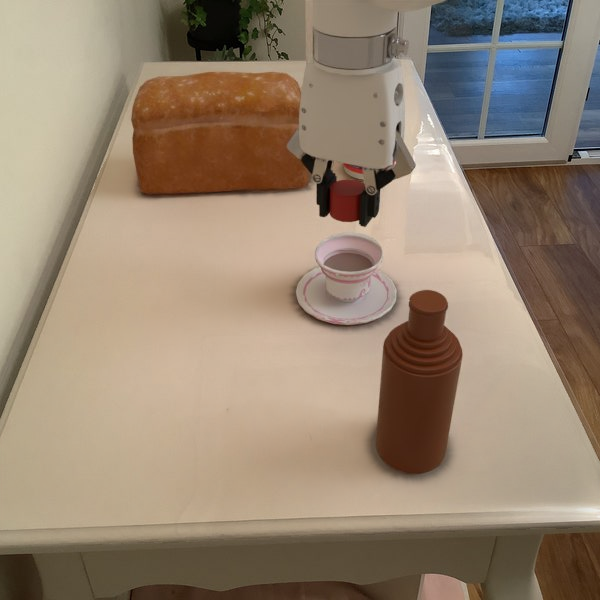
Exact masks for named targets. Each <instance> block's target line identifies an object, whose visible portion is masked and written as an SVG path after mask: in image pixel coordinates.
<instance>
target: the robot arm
mask: <svg viewBox="0 0 600 600" xmlns="http://www.w3.org/2000/svg"><path fill="white" fill-rule="evenodd" d="M446 1H447V0H313V54H311V56H309V57H308V59H307V63H306V62H305V68H304V72H303V77H302V85H301V90H300V91H301V100H300V112H299V128H298V129H297V130H296V132H295V133H294V135H293V136H292V138H291V139H290V141H289V142H288V143H287V149H288V150H289V151H290V152H291V153H293V154H294V155H295V156H296V157H297V158H298V159H299V158H300V159H301V162H302V163H303V165H304V166H305V167H306V168H307V169H308V171H309V174H310V175H311V180H312V181H313V182H314V183H315V184H316V191H315V192H316V201H315V202H316V205H317V206H318V216H319V217H320V218H326V217H328V216H329V215H330V186H331V185H332V184H333V183H334V182H336V181H338V176H337V175H336V172H334V171H333V168H334V164H335V162H337V163H342V164H343V163H346V164H351V165H356V166H361V167H362V169H363V176H364V180H363V181H364V182H363V183H364V184H365V189H364V191H363V192H362V193H361V195H360V212H359V220H358V224H359V226H360V227H363V228H366V227H367V226H368V225H369V224H370V222H371V221H372V219H373V218H376V217H378V215H379V214H378V213H379V211H380V201H381V190H382V189H383V188H384V187H386V186H388V185H389V184H390V183H392V182H393V181H394V180H398V179H400V178H404V177H406V176H409V175H410V174H411V173H412V172H413V171H414V170H415V169H416V165H417V164H416V162H415V160H414V157H413V156H412V154H411V152H410V150H409V149H408V147H407V145H406V143H405V125H406V123H405V122H406V121H405V119H406V117H405V115H406V111H405V110H406V109H405V108H406V107H405V104H406V103H405V84H404V82H405V81H404V73H403V72H404V71H403V65H402V61H401V60H400V59H399V58H394V57H398V56H406V55H407V54H408V52H409V48H410V42H409V40H408V39H403V38H401V37H400V36H399V37H398V28H397V27H396V20H397V19H396V18H397V17H396V16H397V13H408V12H409V13H410V12H413V11H419V10H422V9H425V8H428V7H432V6H435V5H438V4H441V3H444V2H446ZM391 156H393V158H394V160H395V165H390V166H389V164H390V162H391ZM388 166H389V167H388ZM386 167H387V168H386ZM384 168H386V169H384Z"/></svg>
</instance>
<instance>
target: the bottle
mask: <svg viewBox="0 0 600 600" xmlns="http://www.w3.org/2000/svg"><path fill="white" fill-rule="evenodd" d="M408 300H409V302H408V308H409V310H408V317H407V318H408V319H407V321H405V322H402V323H401V324H399V325H397V326H396V327H394V328H392V329H391V330H390V332H389V333H388V335H387V336H386V337H385V339H384V342H383V345H382V356H381V357H382V358H381V368H380V369H381V371H380V383H379V397H378V407H377V408H378V409H377V420H376V421H377V423H376V434H375V435H376V437H375V449H376V452H377V454H378V456H379V457H380V459H381V460H382V461H383V462H384V463H385V464H386V465H387V466H389V467H390V468H392V469H393V470H395V471H397V472H401V473H405V474H409V475H410V474H411V475H412V474H413V475H417V474H424V473H428V472H430V471H432V470H434V469H437V467H439V466H440V465H441V464H442V462H443V460H444V459H445V457H446V454H447V453H446V452H447V446H448V441H449V435H450V429H451V424H452V418H453V414H454V413H453V412H454V406H455V401H456V396H457V390H458V384H459V379H460V373H461V367H462V363H463V362H462V361H463V358H464V357H463V355H464V354H463V348H462V345H461V342H460V340H459V338H458V337H457V336H456V335H455V334H454V333H453V332H452V331H451V330H450V329H449V328H448V327H447V326H446V325H445V322H446V314H447V311H448V308H449V302H448V300H447V298H446V296H445V295H444V294H442V293H440V292H439V291H436V290H432V289H422V290H417V291H416V292H414V293H412V294H411V295H410V296H409V299H408Z"/></svg>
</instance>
